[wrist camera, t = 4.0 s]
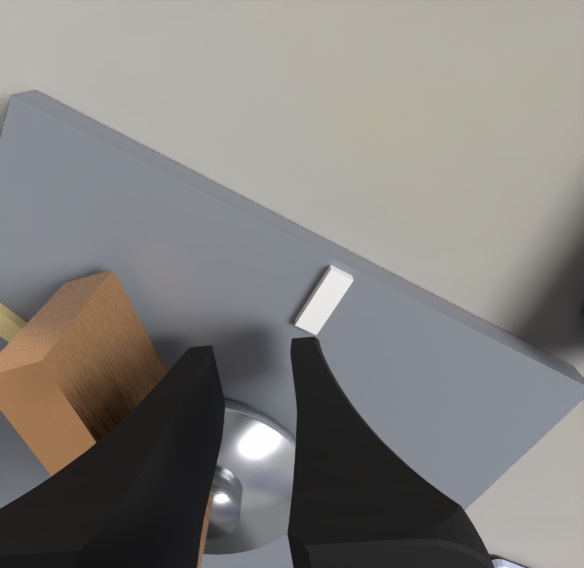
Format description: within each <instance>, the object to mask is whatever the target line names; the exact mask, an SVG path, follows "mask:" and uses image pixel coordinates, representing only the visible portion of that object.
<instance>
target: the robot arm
mask: <svg viewBox="0 0 584 568" xmlns="http://www.w3.org/2000/svg"><path fill="white" fill-rule="evenodd" d="M290 356H291V364H292V372H293V380H294V388H295V396H296V406H297V423H296V445H295V463H294V475H293V488H292V498H291V507H290V516H289V524H288V532H287V535H288V540H289V546H290V551H291V557H292V563H293V568H524V567H521V566H519V565H516V564H514V563H511V562H508V561H506V560H503V559H494V560H491V558H490V556H489V553H488V551H487V549H486V547H485V545H484V543H483V541H482V539H481V538H480V536H479V534H478V532H477V530H476V529H475V527H474V525H473V524H472V522H471V520H470V519H469V517H468V516H467V514H466V512H465V511H464V509H463V508H462V506H461V505H459V504H458V503H456V502H455V501H453V500H452V499H451V498H449V497H448V496H446V495H445V494H443V493H442V492H441V491H439V490H438V489H437V488H435V487H434V486H433V485H431V484H430V483H429V482H427V481H426V480H425V479H424V478H423V477H421V476H420V475H419V474H418V473H417V472H415V471H414V470H413V469H412V468H410V467H409V466H408V465H407V464H406V463H405V462H404V461H403V460H402V459H401V458H400V457H399V456H398V455H397V454H396V453H394V452H393V451H392V450H391V449H390V448H389V447H388V446H387V445H386V444H385V443H384V442H383V441H382V440H381V439H380V438H379V436H378V435H377V434H376V433H375V432H374V431H373V430H372V429H371V428H370V426H369V425H368V424H367V423H366V422H365V420H364V419H363V418H362V417H361V415H360V414H359V413H358V412H357V410H356V409H355V408H354V406H353V405H352V403H351V402H350V401H349V399H348V398H347V396H346V395H345V393H344V392H343V390H342V389H341V387H340V385H339V384H338V382H337V380H336V379H335V377H334V375H333V373H332V372H331V370H330V368H329V366H328V364H327V362H326V359H325V357H324V355H323V352H322V349H321V346H320V342H319V339H318V338H316V337H315V336H313V337H302V338H292V340H291V349H290ZM224 415H225V400H224V395H223V391H222V387H221V382H220V378H219V374H218V369H217V365H216V360H215V356H214V352H213V347H212V345H209V346H198V347H189V349H188V350H187V351H186V352H185V353H184V354H183V355H182V356H181V358H180V359H179V360H178V361H177V362H176V363H175V364H174V366H173V367H172V368H171V369H170V370H169V371H168V372H167V374H166V375H165V376H164V377H163V378H162V379H161V380H160V382H159V383H158V384H157V385H156V386H155V387H154V388H153V389H152V390H151V391H150V393H149V394H148V395H147V396H146V397H145V398H144V399H143V400H142V401H141V402H140V403H139V404H138V405H137V406H136V407H135V408H134V409H133V410H132V411H131V412H130V413H129V414H128V415H127V416H126V417H125V418H124V419H123V420H122V421H121V422H120V423H119V424H117V425H116V426H115V427H114V428H113V429H112V430H111V431H110V432H109V433H107V434H106V435H105V436H104V437H103V438H101V439H100V440H99V441H98V442H97V443H95V444H94V445H93V446H92V447H91V448H89V449H88V450H87V451H86V452H84V453H83V454H82V455H80V456H79V457H77V458H76V459H75V460H73V461H72V462H71V463H69V464H68V465H67V466H65V467H64V468H62V469H61V470H60V471H58V472H57V473H56V474H54V475H53V476H51V477H50V478H48V479H47V480H45V481H44V482H42V483H41V484H39V485H38V486H36V487H35V488H33V489H32V490H30V491H28V492H27V493H25V494H24V495H22V496H20V497H19V498H17V499H15V500H14V501H12V502H11V503H9V504H7V505H5V506H4V507H2V508H0V568H197V565H198V557H199V549H200V541H201V533H202V528H203V522H204V517H205V512H206V508H207V503H208V499H209V495H210V490H211V486H212V482H213V477H214V473H215V469H216V464H217V460H218V455H219V451H220V446H221V442H222V436H223V426H224Z"/></svg>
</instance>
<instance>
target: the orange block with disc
mask: <svg viewBox="0 0 584 568" xmlns="http://www.w3.org/2000/svg"><path fill="white" fill-rule="evenodd" d="M167 372H168V371H167V370H166V368H165V366H164V364H163V362H162V360H161V358H160V356H159V355H158V353H157V351H156V349H155V347H154V345H153V343H152V342H151V340H150V338H149V336H148V334H147V332H146V330H145V328H144V327H143V325H142V323H141V321H140V319H139V317H138V315H137V313H136V312H135V310H134V308H133V306H132V304H131V302H130V300H129V298H128V297H127V295H126V293H125V291H124V289H123V287H122V285H121V283H120V282H119V280H118V278H117V276H116V274H115V272H114V270H113V269H112V270H108V271H105V272H101V273H98V274H95V275H91V276H88V277H84V278H81V279H77V280H74V281H70V282H67V283H64V284H63V285H62V287H61V288H60V289H59V290H58V291H57V292H56V293H55V294H54V295H53V296H52V297H51V298H50V299H49V301H48V302H47V303H46V304H45V305H44V306H43V307H42V308H41V309H40V310H39V311H38V312H37V313H36V315H35V316H34V317H33V318H32V319H31V320H30V321H29V322H28V323H27V324H26V325H25V326H24V327H23V329H22V330H21V331H20V332H19V333H18V334H17V335H16V336H15V337H14V338H13V339H12V340H11V342H10V343H9V344H8V345H7V346H6V347H5V348H4V349H3V350H2V351H1V352H0V410H1V411H2V413H3V414H4V415H5V417H6V418H7V419H8V420H9V422H10V423H11V424H12V426H13V427H14V428H15V430H16V431H17V432H18V433H19V435H20V436H21V437H22V439H23V440H24V441H25V443H26V444H27V445H28V446H29V448H30V449H31V450H32V452H33V453H34V454H35V456H36V457H37V458H38V459H39V461H40V462H41V463H42V465H43V466H44V467H45V469H46V470H47V471H48V472H49V474H50V475H51V476H53V475H54V474H56V473H57V472H58V471H60V470H61V469H62V468H64V467H65V466H67V465H68V464H69V463H71V462H72V461H73V460H75V459H76V458H77V457H79V456H80V455H82V454H83V453H84V452H86V451H87V450H88V449H89V448H91V447H92V446H93V445H94V444H95V443H97V442H98V441H99V440H100V439H101V438H103V437H104V436H105V435H106V434H107V433H109V432H110V431H111V430H112V429H113V428H114V427H115V426H116V425H117V424H119V423H120V422H121V421H122V420H123V419H124V418H125V417H126V416H127V415H128V414H129V413H130V412H131V411H132V410H133V409H134V408H135V407H136V406H137V405H138V404H139V403H140V402H141V401H142V400H143V399H144V398H145V397H146V396H147V395H148V394H149V393H150V391H151V390H152V389H153V388H154V387H155V386H156V385H157V384H158V383H159V382H160V380H161V379H162V378H163V377H164V376H165V375H166V374H167ZM295 445H296V437H295V436H294V435H293V434H292V433H291V432H290V431H289V430H288V429H287V428H286V427H285V426H283V425H282V424H281V423H280V422H278V421H277V420H275V419H274V418H272V417H270V416H269V415H267V414H265V413H263V412H261V411H259V410H257V409H255V408H252V407H249V406H246V405H243V404H240V403H236V402H232V401H228V400H225V415H224V426H223V436H222V442H221V446H220V451H219V455H218V460H217V464H216V469H215V473H214V477H213V482H212V486H211V490H210V495H209V499H208V503H207V508H206V512H205V517H204V522H203V528H202V533H201V541H200V549H199V557H198V565H197V568H201V562H202V557H203V554H210V555H222V554H234V553H241V552H246V551H250V550H254V549H257V548H260V547H263V546H266V545H268V544H270V543H272V542H275V541H276V540H278V539H280V538H281V537H283V536H285V535H286V534H287V532H288V524H289V516H290V507H291V498H292V488H293V475H294V463H295Z"/></svg>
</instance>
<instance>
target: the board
mask: <svg viewBox="0 0 584 568" xmlns="http://www.w3.org/2000/svg"><path fill="white" fill-rule="evenodd" d="M112 269H113V270H114V272H115V274H116V276H117V278H118V280H119V282H120V283H121V285H122V287H123V289H124V291H125V293H126V295H127V297H128V298H129V300H130V302H131V304H132V306H133V308H134V310H135V312H136V313H137V315H138V317H139V319H140V321H141V323H142V325H143V327H144V328H145V330H146V332H147V334H148V336H149V338H150V340H151V342H152V343H153V345H154V347H155V349H156V351H157V353H158V355H159V356H160V358H161V360H162V362H163V364H164V366H165V368H166V370H167V371H169V370H170V369H171V368H172V367H173V366H174V364H175V363H176V362H177V361H178V360H179V359H180V358H181V356H182V355H183V354H184V353H185V352H186V351H187V350H188V349H189V347H198V346H209V345H212V347H213V352H214V356H215V360H216V365H217V369H218V374H219V378H220V382H221V387H222V391H223V395H224V400H228V401H232V402H236V403H240V404H243V405H246V406H249V407H252V408H255V409H257V410H259V411H261V412H263V413H265V414H267V415H269V416H270V417H272V418H274V419H275V420H277V421H278V422H280V423H281V424H282V425H283V426H285V427H286V428H287V429H288V430H289V431H290V432H291V433H292V434H293V435H294V436H295V437H296V423H297V406H296V396H295V388H294V380H293V372H292V364H291V356H290V349H291V340H292V338H302V337H313V336H315V337H316V338H318V339H319V342H320V346H321V349H322V352H323V355H324V357H325V359H326V362H327V364H328V366H329V368H330V370H331V372H332V373H333V375H334V377H335V379H336V380H337V382H338V384H339V385H340V387H341V389H342V390H343V392H344V393H345V395H346V396H347V398H348V399H349V401H350V402H351V403H352V405H353V406H354V408H355V409H356V410H357V412H358V413H359V414H360V415H361V417H362V418H363V419H364V420H365V422H366V423H367V424H368V425H369V426H370V428H371V429H372V430H373V431H374V432H375V433H376V434H377V435H378V436H379V438H380V439H381V440H382V441H383V442H384V443H385V444H386V445H387V446H388V447H389V448H390V449H391V450H392V451H393V452H394V453H396V454H397V455H398V456H399V457H400V458H401V459H402V460H403V461H404V462H405V463H406V464H407V465H408V466H409V467H410V468H412V469H413V470H414V471H415V472H417V473H418V474H419V475H420V476H421V477H423V478H424V479H425V480H426V481H427V482H429V483H430V484H431V485H433V486H434V487H435V488H437V489H438V490H439V491H441V492H442V493H443V494H445V495H446V496H448V497H449V498H451V499H452V500H453V501H455V502H456V503H458V504H459V505H461V506H462V508H463V509H464V510H465V509H466V508H468V507H469V506H470V505H471V504H472V503H473V502H474V501H475V500H476V499H477V498H478V497H479V496H480V495H481V494H482V493H484V492H485V491H486V490H487V489H488V488H489V487H490V486H491V485H492V484H493V483H494V482H495V481H496V480H497V479H498V478H500V477H501V476H502V475H503V474H504V473H505V472H506V471H507V470H508V469H509V468H510V467H511V466H512V465H513V464H515V463H516V462H517V461H518V460H519V459H520V458H521V457H522V456H523V455H524V454H525V453H526V452H527V451H528V450H529V449H531V448H532V447H533V446H534V445H535V444H536V443H537V442H538V441H539V440H540V439H541V438H542V437H543V436H544V435H546V434H547V433H548V432H549V431H550V430H551V429H552V428H553V427H554V426H555V425H556V424H557V423H558V422H559V421H560V420H562V419H563V418H564V417H565V416H566V415H567V414H568V413H569V412H570V411H571V410H572V409H573V408H574V407H575V406H576V405H578V404H579V403H580V402H581V401H582V400H583V399H584V378H583V377H582V376H581V374H580V373H579V372H578V371H577V370H576V368H575V367H574V366H573V365H571V364H569V363H567V362H565V361H563V360H561V359H559V358H557V357H555V356H553V355H551V354H549V353H547V352H545V351H543V350H541V349H539V348H538V347H536V346H534V345H532V344H530V343H528V342H526V341H524V340H522V339H520V338H518V337H516V336H514V335H512V334H510V333H508V332H506V331H504V330H502V329H501V328H499V327H497V326H495V325H493V324H491V323H489V322H487V321H485V320H483V319H481V318H479V317H477V316H475V315H473V314H471V313H469V312H467V311H466V310H464V309H462V308H460V307H458V306H456V305H454V304H452V303H450V302H448V301H446V300H444V299H442V298H440V297H438V296H436V295H434V294H432V293H430V292H429V291H427V290H425V289H423V288H421V287H419V286H417V285H415V284H413V283H411V282H409V281H407V280H405V279H403V278H401V277H399V276H397V275H395V274H393V273H392V272H390V271H388V270H386V269H384V268H382V267H380V266H378V265H376V264H374V263H372V262H370V261H368V260H366V259H364V258H362V257H360V256H358V255H356V254H355V253H353V252H351V251H349V250H347V249H345V248H343V247H341V246H339V245H337V244H335V243H333V242H331V241H329V240H327V239H325V238H323V237H321V236H319V235H318V234H316V233H314V232H312V231H310V230H308V229H306V228H304V227H302V226H300V225H298V224H296V223H294V222H292V221H290V220H288V219H286V218H284V217H282V216H281V215H279V214H277V213H275V212H273V211H271V210H269V209H267V208H265V207H263V206H261V205H259V204H257V203H255V202H253V201H251V200H249V199H247V198H246V197H244V196H242V195H240V194H238V193H236V192H234V191H232V190H230V189H228V188H226V187H224V186H222V185H220V184H218V183H216V182H214V181H212V180H210V179H209V178H207V177H205V176H203V175H201V174H199V173H197V172H195V171H193V170H191V169H189V168H187V167H185V166H183V165H181V164H179V163H177V162H175V161H173V160H172V159H170V158H168V157H166V156H164V155H162V154H160V153H158V152H156V151H154V150H152V149H150V148H148V147H146V146H144V145H142V144H140V143H138V142H136V141H135V140H133V139H131V138H129V137H127V136H125V135H123V134H121V133H119V132H117V131H115V130H113V129H111V128H109V127H107V126H105V125H103V124H101V123H99V122H98V121H96V120H94V119H92V118H90V117H88V116H86V115H84V114H82V113H80V112H78V111H76V110H74V109H72V108H70V107H68V106H66V105H64V104H62V103H61V102H59V101H57V100H55V99H53V98H51V97H49V96H47V95H45V94H43V93H41V92H39V91H37V90H33V91H29V92H24V93H20V94H15V95H11V97H10V101H9V105H8V110H7V114H6V118H5V122H4V126H3V130H2V134H1V138H0V352H1V351H2V350H3V349H4V348H5V347H6V346H7V345H8V344H9V343H10V342H11V340H12V339H13V338H14V337H15V336H16V335H17V334H18V333H19V332H20V331H21V330H22V329H23V327H24V326H25V325H26V324H27V323H28V322H29V321H30V320H31V319H32V318H33V317H34V316H35V315H36V313H37V312H38V311H39V310H40V309H41V308H42V307H43V306H44V305H45V304H46V303H47V302H48V301H49V299H50V298H51V297H52V296H53V295H54V294H55V293H56V292H57V291H58V290H59V289H60V288H61V287H62V285H63V284H64V283H67V282H70V281H74V280H77V279H81V278H84V277H88V276H91V275H95V274H98V273H101V272H105V271H108V270H112ZM50 477H51V475H50V474H49V472H48V471H47V470H46V469H45V467H44V466H43V465H42V463H41V462H40V461H39V459H38V458H37V457H36V456H35V454H34V453H33V452H32V450H31V449H30V448H29V446H28V445H27V444H26V443H25V441H24V440H23V439H22V437H21V436H20V435H19V433H18V432H17V431H16V430H15V428H14V427H13V426H12V424H11V423H10V422H9V420H8V419H7V418H6V417H5V415H4V414H3V413H2V411H1V410H0V508H2V507H4V506H5V505H7V504H9V503H11V502H12V501H14V500H15V499H17V498H19V497H20V496H22V495H24V494H25V493H27V492H28V491H30V490H32V489H33V488H35V487H36V486H38V485H39V484H41V483H42V482H44V481H45V480H47V479H48V478H50ZM201 568H293V563H292V557H291V551H290V546H289V540H288V535H287V534H286V535H285V536H283V537H281V538H280V539H278V540H276V541H275V542H272V543H270V544H268V545H266V546H263V547H260V548H257V549H254V550H250V551H246V552H241V553H234V554H222V555H210V554H203V557H202V562H201Z"/></svg>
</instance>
